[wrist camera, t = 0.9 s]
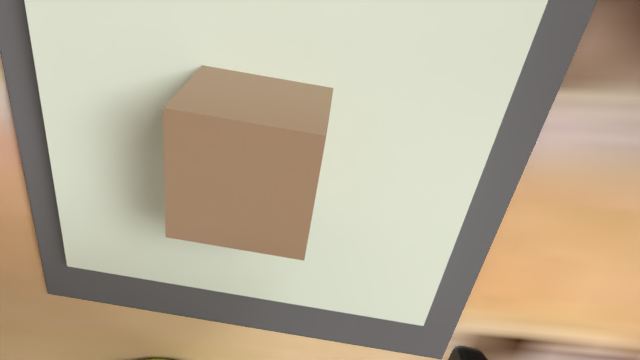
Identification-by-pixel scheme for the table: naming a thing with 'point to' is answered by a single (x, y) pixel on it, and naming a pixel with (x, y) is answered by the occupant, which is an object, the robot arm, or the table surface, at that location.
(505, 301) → the table surface
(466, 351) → the robot arm
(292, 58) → the sage lid
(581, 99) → the table surface
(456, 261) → the gray flat panel
